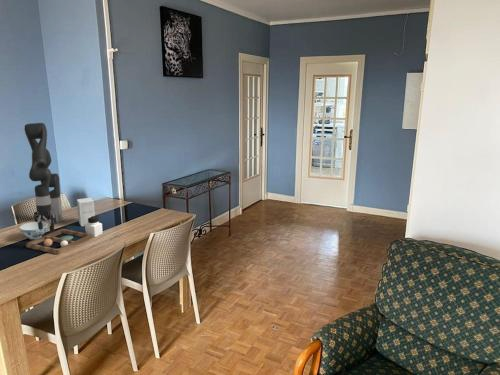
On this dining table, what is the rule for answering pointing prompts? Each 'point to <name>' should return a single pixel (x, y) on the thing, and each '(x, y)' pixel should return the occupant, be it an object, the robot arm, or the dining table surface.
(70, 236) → the felt pad
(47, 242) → the terracotta ball
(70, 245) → the dark wooden tray
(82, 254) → the dining table surface
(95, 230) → the medicine bottle
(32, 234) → the chinaware
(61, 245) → the off-white ball
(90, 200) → the supplement box
